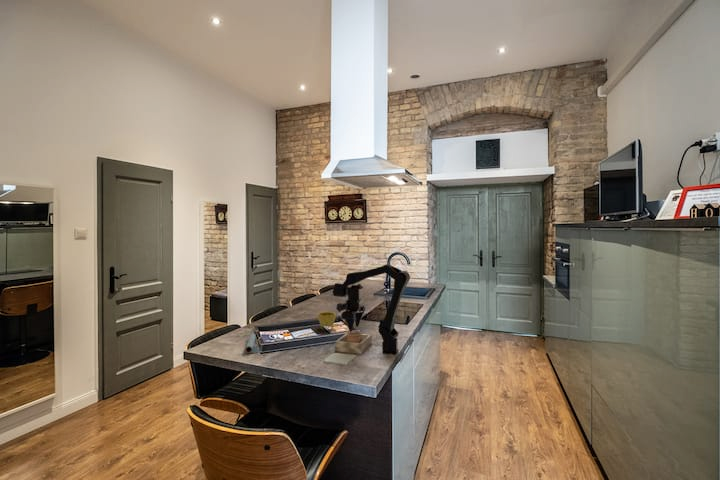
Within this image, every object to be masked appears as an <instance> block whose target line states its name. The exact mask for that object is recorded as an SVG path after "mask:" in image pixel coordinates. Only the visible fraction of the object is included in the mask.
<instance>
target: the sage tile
mask: <svg viewBox="0 0 720 480" xmlns="http://www.w3.org/2000/svg"><path fill="white" fill-rule="evenodd" d="M355 358H356V354H349V353H337V352H333V353H331V355H329V356H328V357H326V358H325V359H324V360H323V363H326V364H335V365H343V366H347V365H349V364H350V363H351V362H352V361H353V360H354V359H355Z"/></svg>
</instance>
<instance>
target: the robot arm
mask: <svg viewBox="0 0 720 480" xmlns="http://www.w3.org/2000/svg"><path fill="white" fill-rule="evenodd" d="M384 274H386V275H388V276H389V277H390V278H391V279H393V280H394V282H393V292H392V294H391V295H392V296H391V299H390V302H389V304H388V305H389V306H388V308H387V311H386V313H385V316H383V317H382V318H381V319H379V324H378V326H377V328H378V333H379V335H380V337H381V338H382V342H381V350H382V354H389V355H391V354H392V355H396V354H397V353H398V351H399V348H398V345H399V344H398V336H399V332H398V330H396V328H395V326H396V325H395V324H396V323H395V321H396V320H395V319H396V314H397V311H398V308H399V305H400V303H401V299H402V297H403V292H404V290H405V288H406V287H407V285H408V284H409V282H410V280H411V275H410V273H409V272H408V271H406V270H401V269H399V268H397V267H395V266H393V265H391V264H390V263H388V264H384V265H381V266H378V267H375V268H371V269H367V270H361V271H354V272H349V273H347V274H346V277H345V280H344V281H343V282H342V283H339V282H336V283H334V286H333V290H332V295H333V297H335V298H337V297H338V298H346V297H347V299H346V300H345V302H344V303H342V302H340V303H336V308H335V309H336V310H337V311H338V313H341V314H340V315H341V316H340V317H341V319H342V320H345V321H346V324H347V327H348V330H349V331H353V329H354V325H355V327H359V326H360V323H361V321H362V318H363V316H364V314H365V312H366V306H365V305H362V304H361V305H360V302H361V298H360V290H362V289H364V287H363V285H362V284H361V282H363V281H364V280H366V279H369V278H373V277H376V276H379V275H384ZM358 283H359V284H358ZM356 284H357V285H356ZM344 310H345V311H344ZM342 311H343V312H342ZM349 331H348V332H349Z"/></svg>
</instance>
